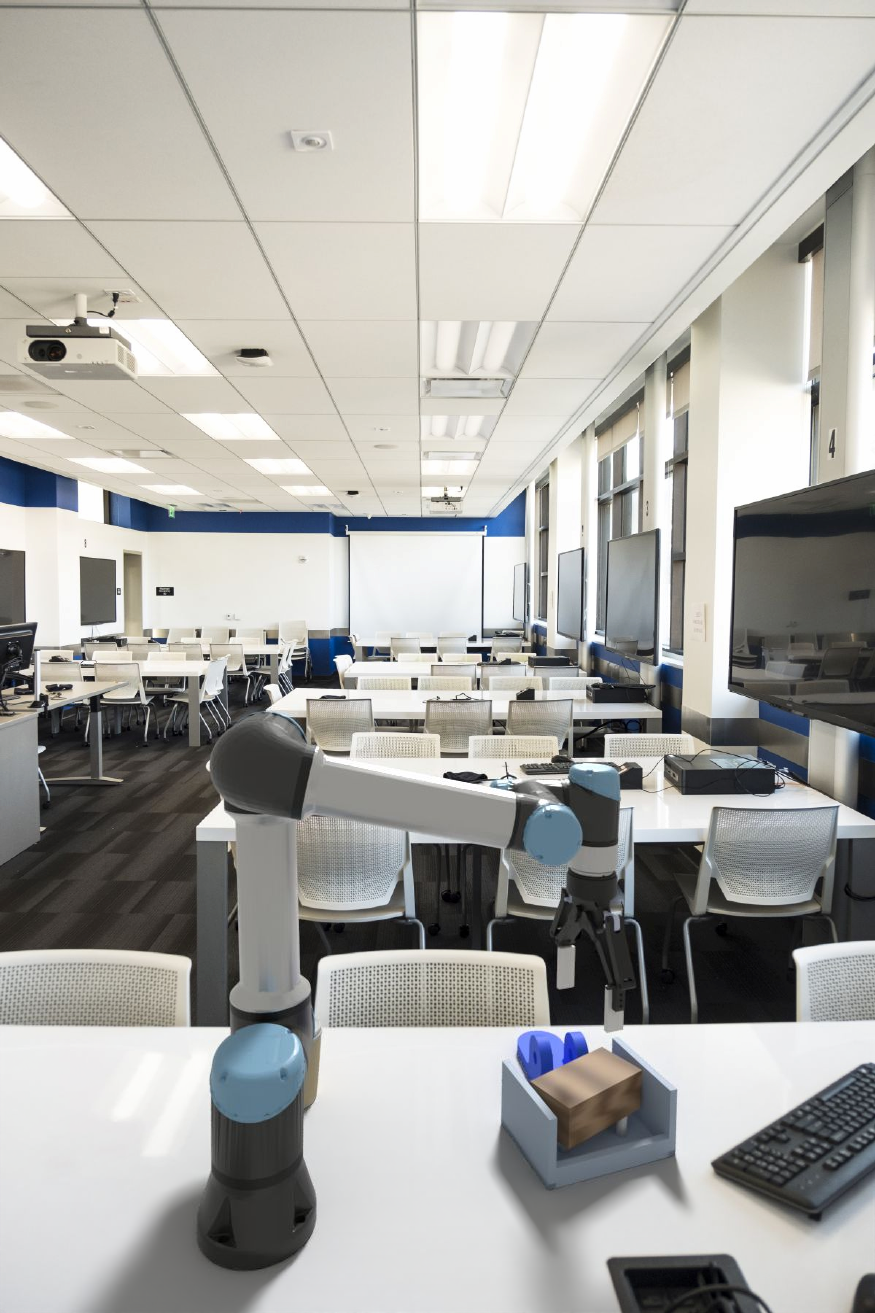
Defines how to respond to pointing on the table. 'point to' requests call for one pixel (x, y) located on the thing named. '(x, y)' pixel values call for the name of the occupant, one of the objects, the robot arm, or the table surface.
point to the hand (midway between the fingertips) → (588, 1007)
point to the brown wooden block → (590, 1094)
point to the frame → (602, 1153)
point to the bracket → (549, 1051)
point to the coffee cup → (313, 1066)
